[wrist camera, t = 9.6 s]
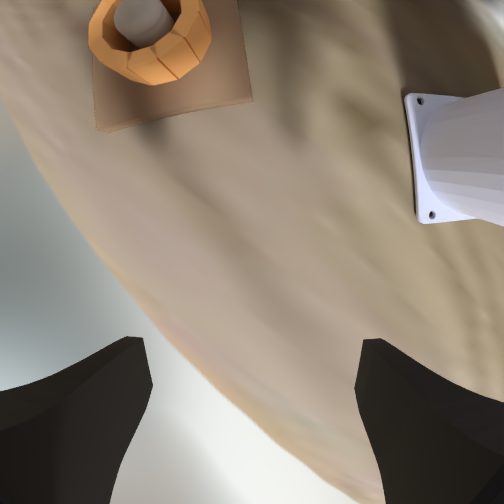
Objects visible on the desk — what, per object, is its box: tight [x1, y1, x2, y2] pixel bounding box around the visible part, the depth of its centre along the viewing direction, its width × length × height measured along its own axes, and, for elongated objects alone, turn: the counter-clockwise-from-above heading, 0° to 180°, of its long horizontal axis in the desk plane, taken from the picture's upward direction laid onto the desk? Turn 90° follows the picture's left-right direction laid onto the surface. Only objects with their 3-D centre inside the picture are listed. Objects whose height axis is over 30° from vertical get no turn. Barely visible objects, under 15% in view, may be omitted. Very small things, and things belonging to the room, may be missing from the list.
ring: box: [88, 0, 212, 86], centre depth 12 cm, size 6×6×4 cm
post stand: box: [92, 0, 253, 133], centre depth 12 cm, size 9×9×6 cm
